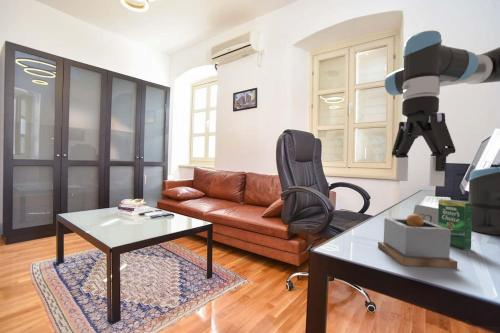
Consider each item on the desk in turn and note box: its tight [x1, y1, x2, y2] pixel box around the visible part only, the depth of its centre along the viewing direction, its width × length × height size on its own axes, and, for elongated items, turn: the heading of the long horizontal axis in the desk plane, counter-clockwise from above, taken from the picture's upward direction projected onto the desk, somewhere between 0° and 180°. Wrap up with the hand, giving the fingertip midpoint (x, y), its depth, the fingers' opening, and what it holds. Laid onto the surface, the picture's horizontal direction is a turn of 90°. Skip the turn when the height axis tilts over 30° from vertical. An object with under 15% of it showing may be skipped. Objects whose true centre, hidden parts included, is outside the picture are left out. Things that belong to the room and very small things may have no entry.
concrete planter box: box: [383, 217, 451, 260], centre depth 61 cm, size 10×10×7 cm
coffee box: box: [437, 198, 472, 251], centre depth 71 cm, size 8×3×13 cm, turn 12°
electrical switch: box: [412, 204, 438, 225], centre depth 84 cm, size 9×5×9 cm, turn 18°
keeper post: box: [377, 213, 458, 269], centre depth 61 cm, size 12×12×11 cm
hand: (417, 183), depth 61 cm, fingers open, 13 cm apart
